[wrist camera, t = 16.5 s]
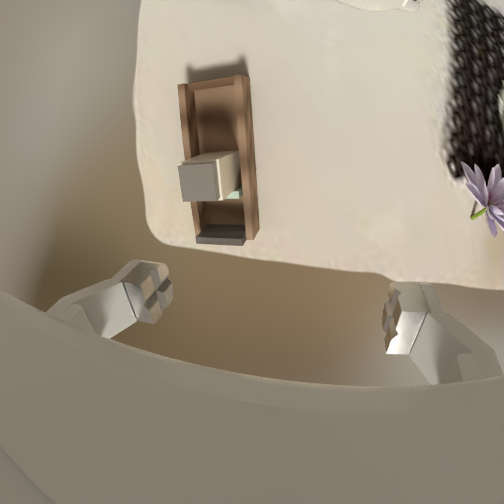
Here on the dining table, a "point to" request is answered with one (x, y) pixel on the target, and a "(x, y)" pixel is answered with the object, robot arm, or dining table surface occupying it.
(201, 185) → the cream rectangular box
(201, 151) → the pusher lane
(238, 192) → the plate
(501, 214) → the water lily
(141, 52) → the dining table surface
